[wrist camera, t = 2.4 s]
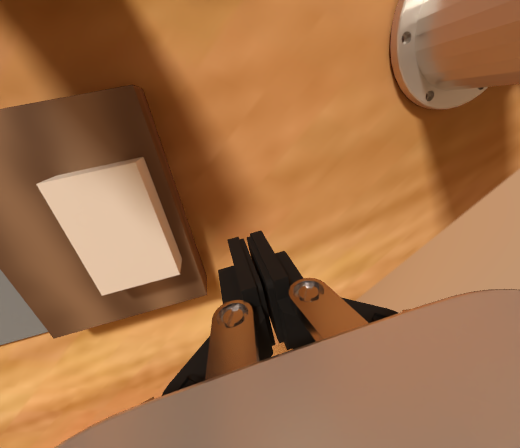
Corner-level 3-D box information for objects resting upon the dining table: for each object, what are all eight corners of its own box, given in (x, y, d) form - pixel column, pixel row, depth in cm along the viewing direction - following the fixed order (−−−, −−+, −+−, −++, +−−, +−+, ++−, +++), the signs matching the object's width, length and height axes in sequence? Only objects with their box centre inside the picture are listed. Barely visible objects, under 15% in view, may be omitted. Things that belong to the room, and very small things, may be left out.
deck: (142, 89, 19) (132, 84, 16) (206, 276, 27) (207, 294, 24) (-61, 126, 18) (-108, 128, 15) (69, 314, 25) (53, 338, 23)
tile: (143, 156, 18) (135, 162, 16) (182, 258, 22) (179, 274, 20) (56, 175, 18) (36, 184, 15) (112, 277, 21) (101, 295, 19)
